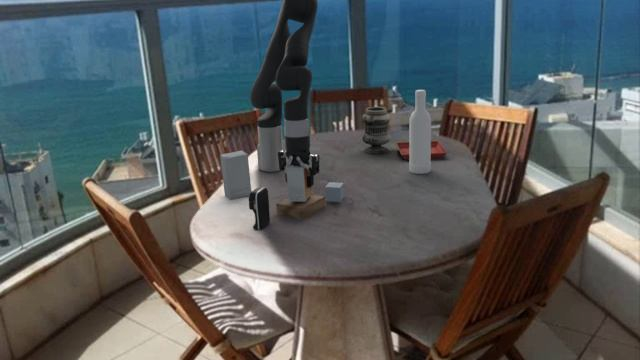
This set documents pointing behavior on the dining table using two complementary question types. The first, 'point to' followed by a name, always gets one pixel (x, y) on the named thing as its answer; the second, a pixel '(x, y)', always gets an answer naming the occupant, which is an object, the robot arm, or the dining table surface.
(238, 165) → the skincare box
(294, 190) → the small box
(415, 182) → the dining table surface
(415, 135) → the bottle
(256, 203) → the battery charger
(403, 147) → the plant saucer
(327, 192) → the blue-grey cube
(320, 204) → the walnut slab
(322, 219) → the dining table surface
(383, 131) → the apothecary jar
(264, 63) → the robot arm
